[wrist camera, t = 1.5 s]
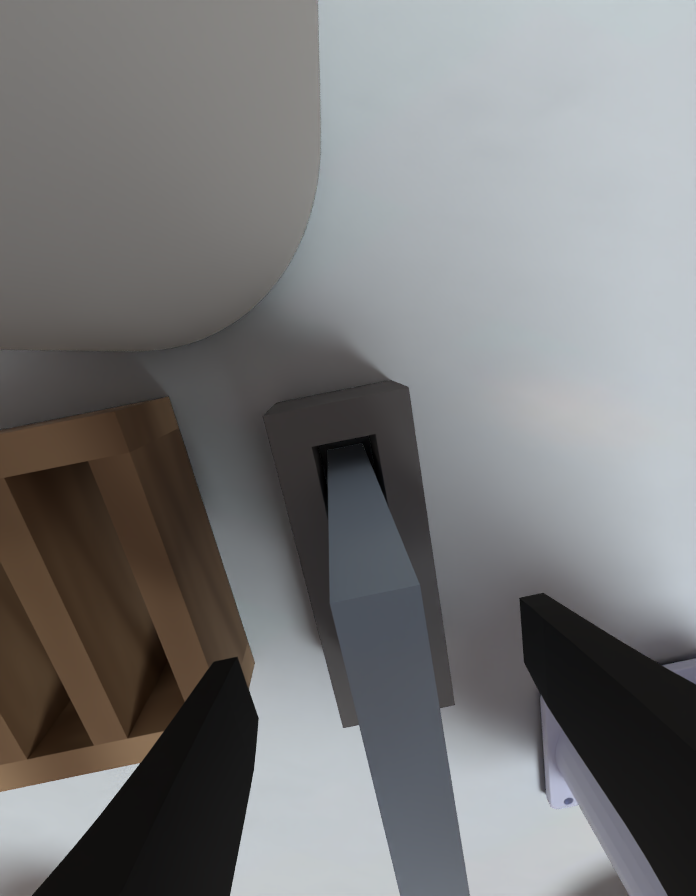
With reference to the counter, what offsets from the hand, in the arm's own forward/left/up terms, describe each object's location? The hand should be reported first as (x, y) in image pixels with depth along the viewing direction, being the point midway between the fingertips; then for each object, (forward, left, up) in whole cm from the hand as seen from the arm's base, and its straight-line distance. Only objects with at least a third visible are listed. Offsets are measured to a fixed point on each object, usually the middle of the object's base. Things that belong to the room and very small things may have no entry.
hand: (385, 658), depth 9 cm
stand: (0, 0, -6) cm, 6 cm away
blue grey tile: (0, 0, -6) cm, 6 cm away
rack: (+12, -1, -6) cm, 14 cm away
